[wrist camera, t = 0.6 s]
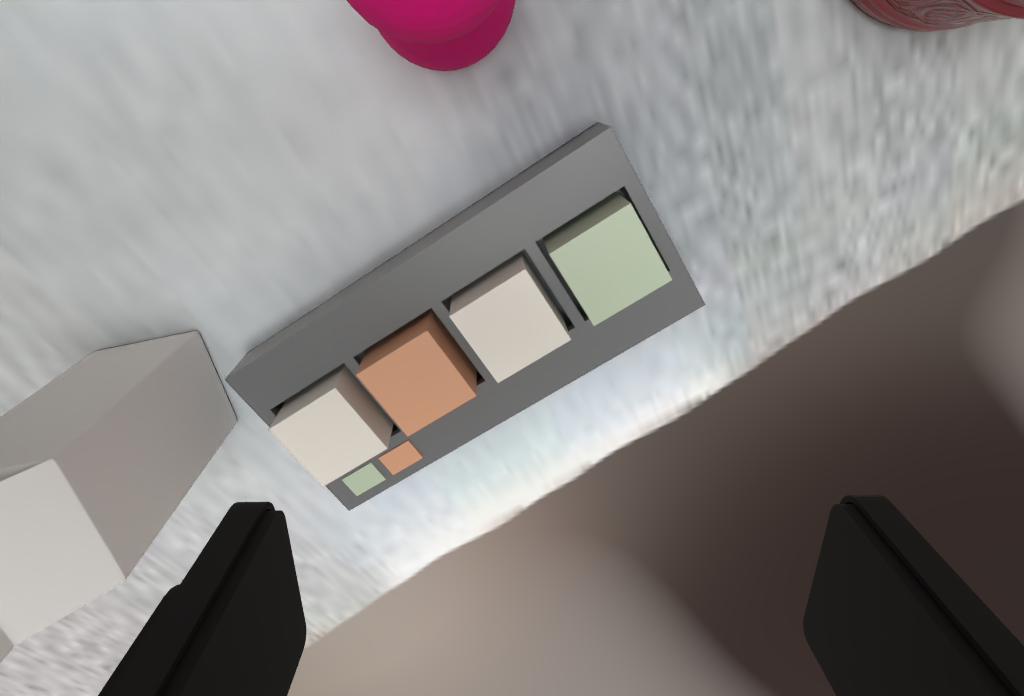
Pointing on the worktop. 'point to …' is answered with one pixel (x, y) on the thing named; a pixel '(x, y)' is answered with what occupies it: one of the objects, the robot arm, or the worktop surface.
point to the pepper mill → (439, 28)
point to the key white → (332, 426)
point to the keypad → (450, 267)
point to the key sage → (606, 258)
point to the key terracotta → (418, 373)
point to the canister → (940, 12)
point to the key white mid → (508, 318)
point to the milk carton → (100, 473)
